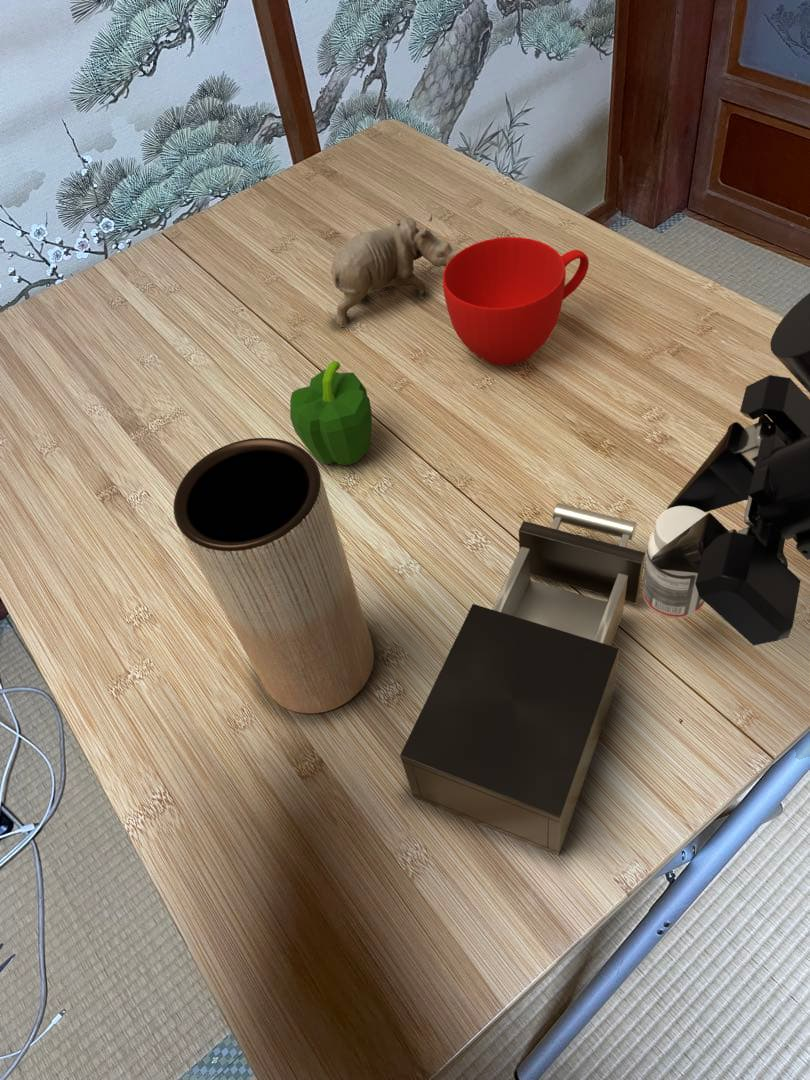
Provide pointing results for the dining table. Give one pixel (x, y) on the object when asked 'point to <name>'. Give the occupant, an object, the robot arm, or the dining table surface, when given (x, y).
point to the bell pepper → (333, 416)
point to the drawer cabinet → (512, 726)
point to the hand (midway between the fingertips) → (663, 538)
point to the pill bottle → (666, 587)
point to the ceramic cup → (508, 295)
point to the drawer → (574, 574)
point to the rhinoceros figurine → (384, 262)
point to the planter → (278, 570)
